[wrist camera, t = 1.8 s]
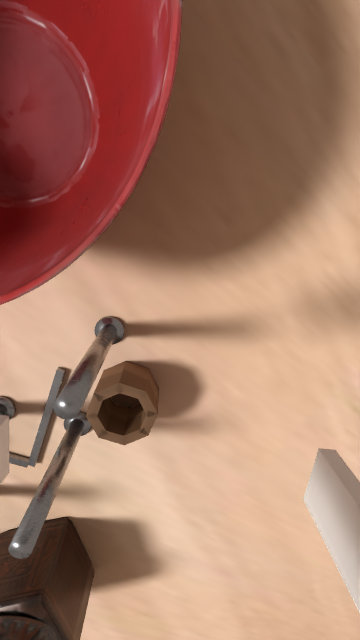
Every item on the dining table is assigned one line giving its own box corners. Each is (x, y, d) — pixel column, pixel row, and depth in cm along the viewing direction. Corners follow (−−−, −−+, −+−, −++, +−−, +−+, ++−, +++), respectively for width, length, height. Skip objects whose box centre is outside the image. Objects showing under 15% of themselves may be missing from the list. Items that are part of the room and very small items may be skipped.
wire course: (-35, 495, 39) (-154, 653, 25) (18, 283, 32) (-105, 331, 17) (57, 519, 40) (-3, 680, 26) (128, 322, 33) (97, 394, 19)
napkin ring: (91, 404, 36) (80, 432, 31) (109, 355, 34) (99, 376, 30) (145, 421, 37) (142, 450, 32) (164, 374, 35) (164, 397, 30)
